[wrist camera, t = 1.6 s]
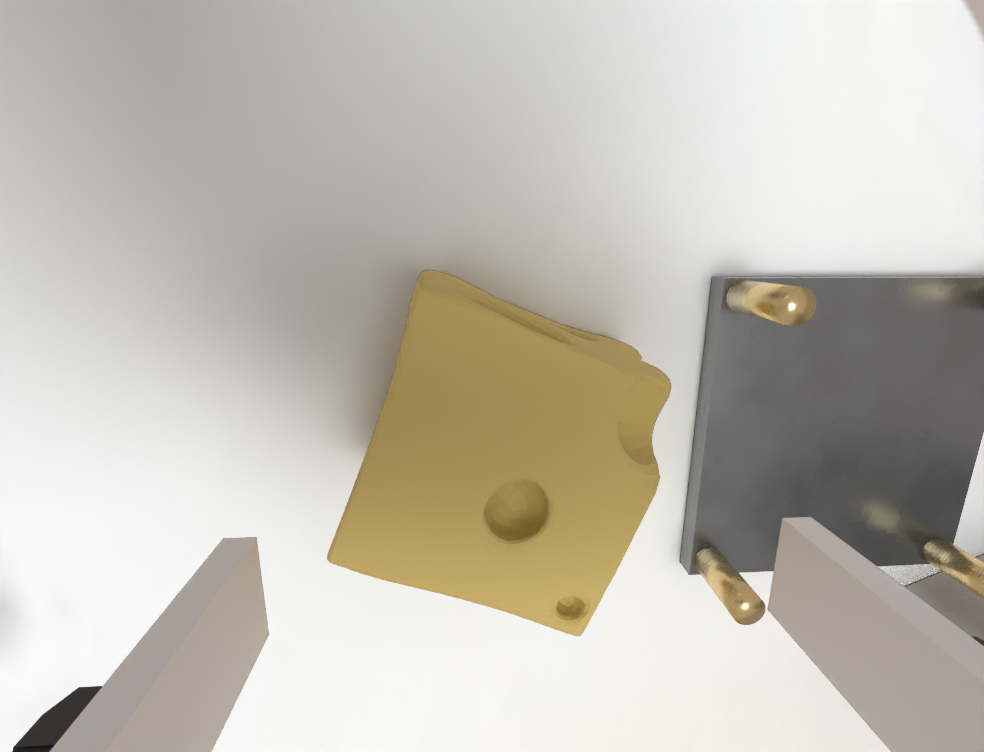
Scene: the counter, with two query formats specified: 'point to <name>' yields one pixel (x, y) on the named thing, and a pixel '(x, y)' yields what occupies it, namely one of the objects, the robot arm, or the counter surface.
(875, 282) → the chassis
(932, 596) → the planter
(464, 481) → the cheese
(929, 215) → the counter surface
